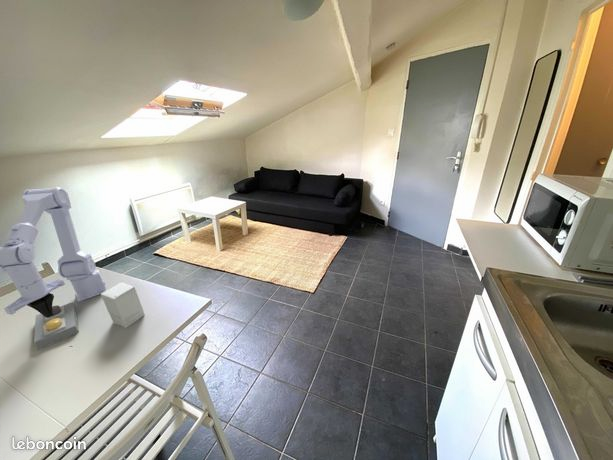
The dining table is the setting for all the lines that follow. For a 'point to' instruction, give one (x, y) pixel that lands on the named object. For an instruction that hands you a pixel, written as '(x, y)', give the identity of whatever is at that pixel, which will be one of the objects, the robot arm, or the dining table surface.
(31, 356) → the dining table surface
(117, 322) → the supplement box
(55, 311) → the knob
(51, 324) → the knob
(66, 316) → the mount plate
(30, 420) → the dining table surface
